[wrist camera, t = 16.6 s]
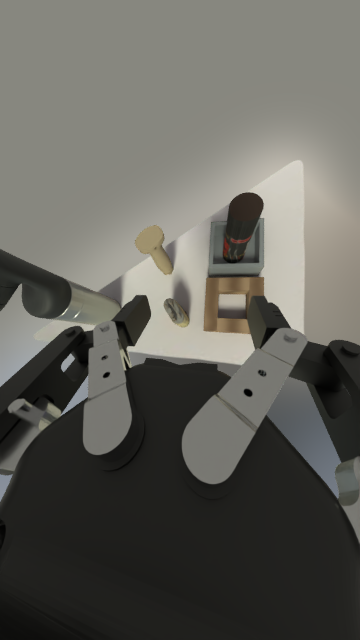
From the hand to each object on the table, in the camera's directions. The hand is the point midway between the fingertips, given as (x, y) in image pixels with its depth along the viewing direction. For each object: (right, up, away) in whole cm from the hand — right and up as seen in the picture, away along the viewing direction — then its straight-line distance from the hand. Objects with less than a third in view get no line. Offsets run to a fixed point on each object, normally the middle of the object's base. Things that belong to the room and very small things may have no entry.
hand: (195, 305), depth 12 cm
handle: (-5, +14, +34) cm, 38 cm away
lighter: (-1, 0, +32) cm, 32 cm away
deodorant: (+14, +18, +30) cm, 38 cm away
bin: (+14, +18, +31) cm, 38 cm away
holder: (+13, +2, +29) cm, 32 cm away
